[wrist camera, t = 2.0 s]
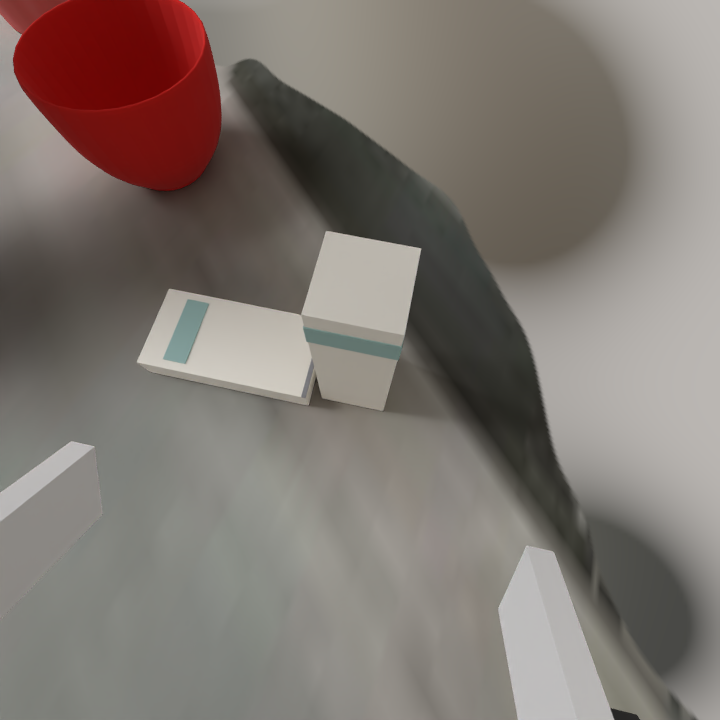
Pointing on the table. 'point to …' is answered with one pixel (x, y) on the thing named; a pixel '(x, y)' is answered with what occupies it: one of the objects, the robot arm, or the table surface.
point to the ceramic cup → (126, 86)
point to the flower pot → (25, 11)
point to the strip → (231, 347)
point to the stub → (358, 316)
